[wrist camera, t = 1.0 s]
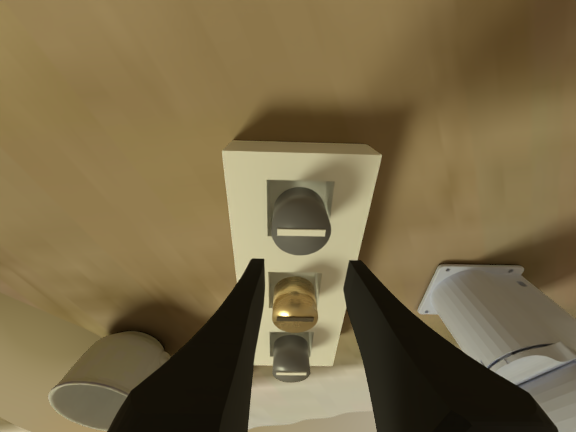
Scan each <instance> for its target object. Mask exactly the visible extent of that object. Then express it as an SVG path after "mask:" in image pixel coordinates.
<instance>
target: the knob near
mask: <svg viewBox="0 0 576 432" xmlns="http://www.w3.org/2000/svg"><path fill="white" fill-rule="evenodd" d="M271 234H272V238H273V241H274V242H275V244H276V245H277V246H278V247H279V248H280V249H281V250H283V251H284V252H286V253H289V254H292V255H308V254H312V253H315V252H317V251H318V250H320V249H321V248H322V247H324V246H325V245H326V243H327V242H328V240H329V238H330V235H331V224H330V221H329V218H328V215H327V212H326V208H325V205H324V202H323V200H322V198H321V197H320V196H319V194H317V193H316V192H315V191H313V190H311V189H309V188H305V187H294V188H290V189H288V190H286V191H284V192H283V193H282V194H280V196H279V197H278V198H277V200H276V201H275V204H274V209H273V219H272V228H271Z"/></svg>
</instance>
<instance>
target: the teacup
mask: <svg viewBox="0 0 576 432" xmlns="http://www.w3.org/2000/svg"><path fill="white" fill-rule="evenodd" d="M169 359H170V355H169V354H168V353H167V352H165V351H164V349H163V347H162V345H161V344H160V342H159V341H158V340H157V339H155V338H154V337H152V336H150V335H148V334H145V333H142V332H137V331H125V332H121V333H116V334H111V335H108V336H106V337H103V338H101V339H100V340H98V341H97V342H95V343H94V344H93V345H92V346H91V347H90V348H89V349H88V350H87V351H86V352H85V353H84V354H83V355H82V356H81V358H80V359H79V360H78V361H77V362H76V363H75V364H74V366H73V367H72V368H71V369H70V370H69V372H68V373H67V374H66V375H65V376H64V378H63V379H62V380H61V381H60V382H59V384H57V385H56V386H55V387H54V388H53V389H52V390H51V391H50V393H49V395H48V400H49V403H50V404H51V406H52V407H53V408H54V409H55V411H56V412H57V413H59V414H60V415H62V416H63V417H65V418H66V419H68V420H70V421H72V422H75V423H77V424H80V425H82V426H86V427H89V428H93V429H98V430H103V431H108V429H109V427H110V425H111V423H112V421H113V419H114V418H115V416H116V414H117V412H118V410H119V409H120V407H121V406H122V404H123V403H124V401H125V399H126V398H127V396H128V395H129V393H130V391H131V390H132V389H133V388H135V387H136V386H137V385H139V384H140V383H141V382H142V381H143V380H145V379H146V378H147V377H148V376H150V375H151V374H152V373H153V372H155V371H156V370H157V369H158V368H160V367H161V366H162V365H163V364H164V363H165V362H167V361H168V360H169Z"/></svg>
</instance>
